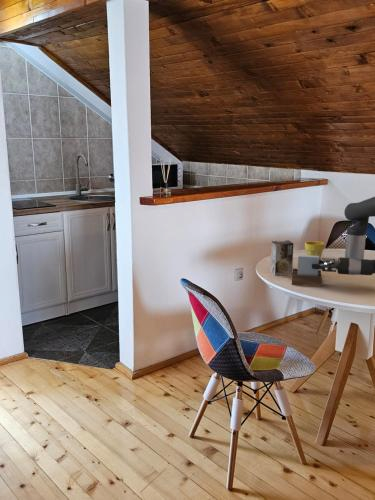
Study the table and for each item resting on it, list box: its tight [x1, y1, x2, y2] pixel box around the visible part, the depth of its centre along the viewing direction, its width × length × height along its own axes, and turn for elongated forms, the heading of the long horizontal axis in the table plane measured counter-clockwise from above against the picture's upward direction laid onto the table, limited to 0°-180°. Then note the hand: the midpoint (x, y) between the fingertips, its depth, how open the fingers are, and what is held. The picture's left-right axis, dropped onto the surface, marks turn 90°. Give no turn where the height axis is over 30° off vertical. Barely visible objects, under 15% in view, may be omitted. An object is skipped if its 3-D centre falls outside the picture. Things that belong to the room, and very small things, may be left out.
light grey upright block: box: [297, 254, 319, 276], centre depth 215 cm, size 3×9×12 cm, turn 77°
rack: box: [291, 268, 323, 287], centre depth 219 cm, size 11×13×4 cm
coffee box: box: [270, 239, 294, 277], centre depth 231 cm, size 9×6×16 cm
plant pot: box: [304, 240, 326, 260], centre depth 257 cm, size 10×10×10 cm
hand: (311, 263), depth 214 cm, fingers open, 8 cm apart
